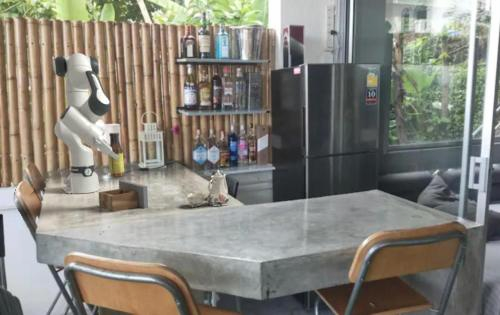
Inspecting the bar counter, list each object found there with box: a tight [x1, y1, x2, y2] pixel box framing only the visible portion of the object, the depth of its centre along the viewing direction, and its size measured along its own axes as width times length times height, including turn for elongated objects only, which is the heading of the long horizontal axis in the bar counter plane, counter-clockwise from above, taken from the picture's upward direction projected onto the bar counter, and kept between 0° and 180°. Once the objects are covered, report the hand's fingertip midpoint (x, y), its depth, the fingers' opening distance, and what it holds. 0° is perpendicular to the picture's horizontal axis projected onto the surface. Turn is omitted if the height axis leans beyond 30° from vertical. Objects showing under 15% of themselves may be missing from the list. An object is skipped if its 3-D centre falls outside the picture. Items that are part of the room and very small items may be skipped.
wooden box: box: [98, 188, 138, 213], centre depth 198 cm, size 12×12×7 cm
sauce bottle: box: [108, 132, 125, 178], centre depth 195 cm, size 7×6×20 cm
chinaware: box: [185, 169, 231, 208], centre depth 203 cm, size 28×17×17 cm, turn 154°
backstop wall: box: [118, 179, 149, 209], centre depth 203 cm, size 22×2×10 cm, turn 46°
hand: (117, 157), depth 195 cm, fingers closed on sauce bottle, 6 cm apart
